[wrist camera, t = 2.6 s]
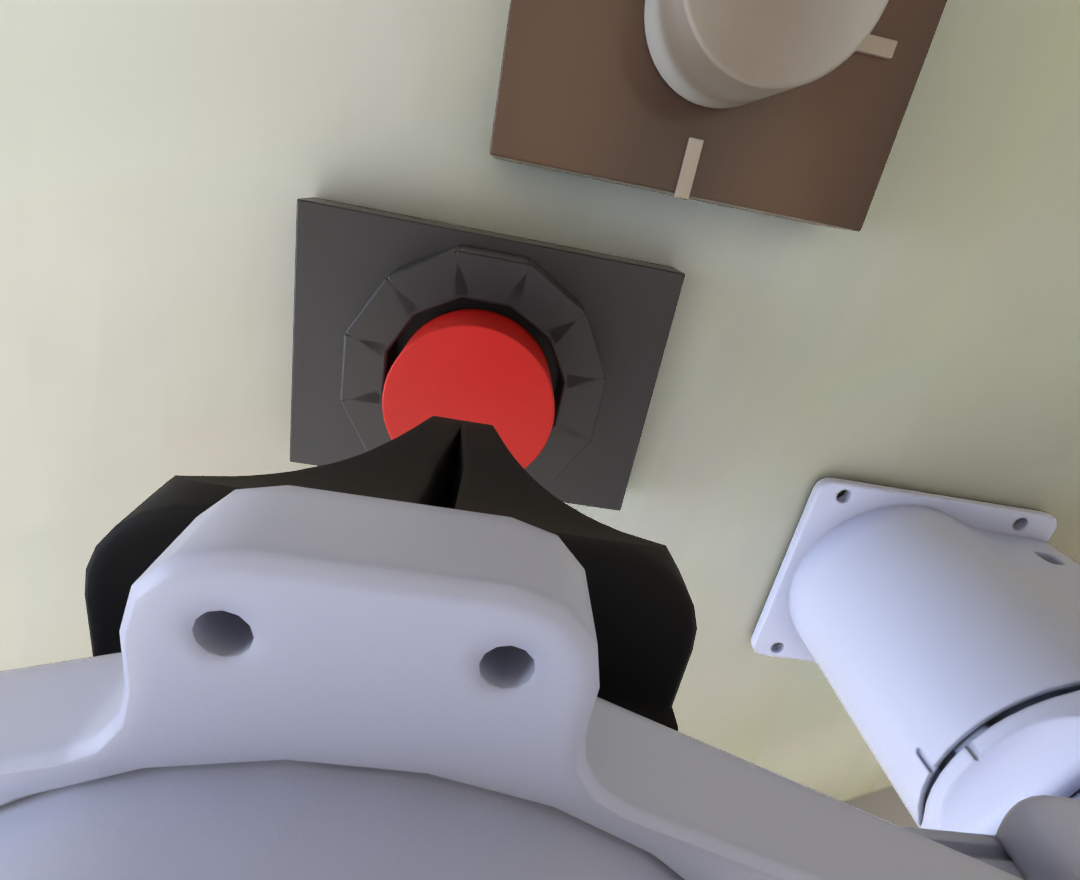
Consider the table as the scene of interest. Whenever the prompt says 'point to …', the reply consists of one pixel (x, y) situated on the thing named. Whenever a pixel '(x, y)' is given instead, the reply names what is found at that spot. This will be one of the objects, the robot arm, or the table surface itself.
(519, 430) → the button
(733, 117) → the dimmer panel
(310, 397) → the switch box
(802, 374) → the table surface
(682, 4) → the dimmer knob
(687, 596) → the robot arm
